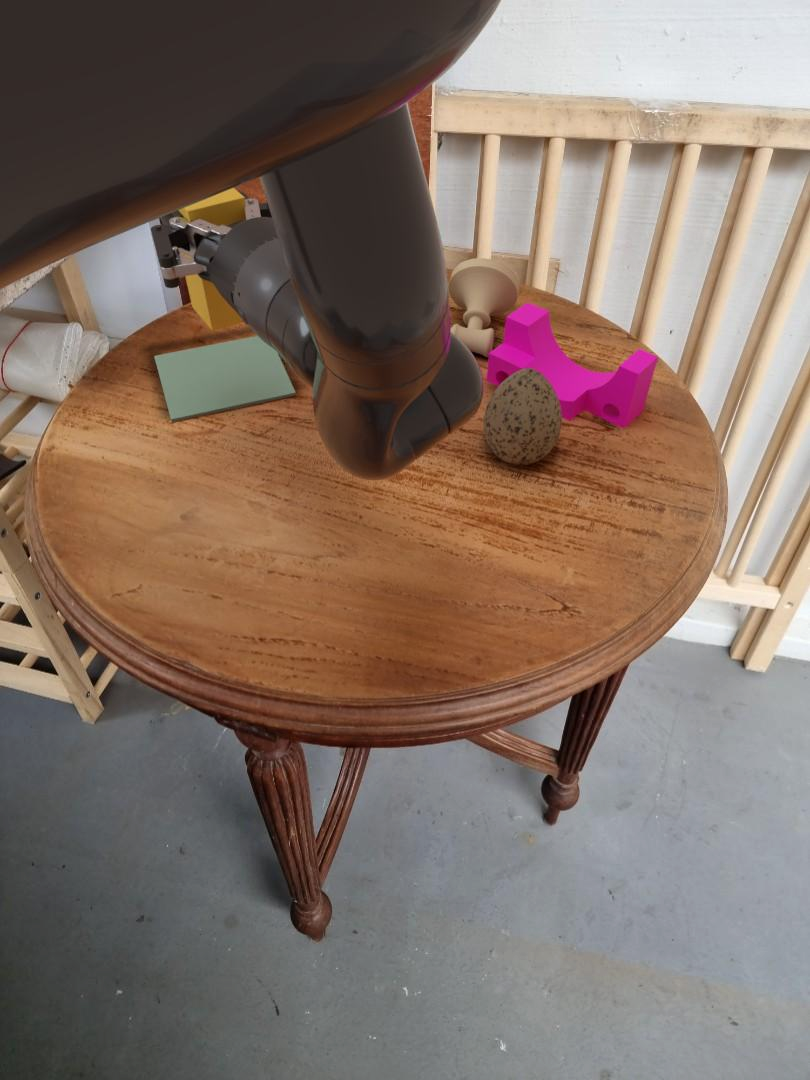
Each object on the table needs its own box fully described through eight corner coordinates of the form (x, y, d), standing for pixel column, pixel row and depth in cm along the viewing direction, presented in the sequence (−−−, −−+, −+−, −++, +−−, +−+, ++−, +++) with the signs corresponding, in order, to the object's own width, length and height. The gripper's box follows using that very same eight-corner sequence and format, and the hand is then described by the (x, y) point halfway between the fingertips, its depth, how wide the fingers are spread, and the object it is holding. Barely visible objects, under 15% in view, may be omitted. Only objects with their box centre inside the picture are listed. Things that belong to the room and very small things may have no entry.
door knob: (506, 332, 81) (432, 322, 82) (503, 378, 88) (434, 369, 89) (521, 262, 85) (449, 254, 86) (517, 312, 92) (451, 304, 93)
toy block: (485, 389, 82) (491, 327, 77) (519, 363, 86) (527, 302, 80) (608, 449, 76) (624, 386, 70) (640, 419, 79) (658, 356, 73)
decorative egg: (565, 447, 76) (582, 361, 69) (538, 491, 72) (553, 404, 64) (498, 425, 78) (507, 339, 71) (468, 467, 74) (475, 380, 67)
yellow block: (212, 331, 70) (187, 211, 62) (192, 307, 73) (165, 189, 65) (262, 316, 72) (244, 197, 64) (240, 292, 75) (221, 176, 67)
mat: (171, 422, 79) (170, 419, 78) (154, 358, 86) (154, 355, 86) (296, 395, 82) (295, 392, 81) (269, 336, 89) (268, 333, 89)
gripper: (364, 216, 58) (266, 143, 68) (180, 266, 52) (103, 179, 62) (367, 307, 63) (277, 227, 73) (202, 361, 58) (128, 267, 68)
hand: (197, 205), depth 68 cm, fingers closed on yellow block, 5 cm apart
